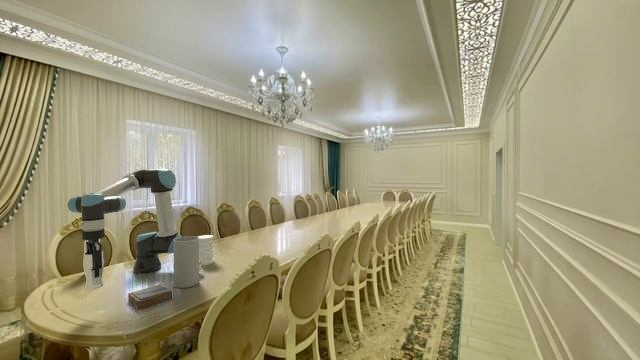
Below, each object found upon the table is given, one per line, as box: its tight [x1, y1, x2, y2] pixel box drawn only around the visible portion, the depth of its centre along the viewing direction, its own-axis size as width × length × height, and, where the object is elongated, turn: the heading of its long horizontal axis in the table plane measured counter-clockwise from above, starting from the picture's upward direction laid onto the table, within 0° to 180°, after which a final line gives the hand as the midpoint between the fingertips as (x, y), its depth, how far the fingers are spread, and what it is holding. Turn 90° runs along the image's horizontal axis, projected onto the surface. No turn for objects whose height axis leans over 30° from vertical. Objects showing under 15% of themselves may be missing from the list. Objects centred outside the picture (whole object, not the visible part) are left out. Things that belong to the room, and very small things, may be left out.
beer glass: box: [82, 250, 105, 291], centre depth 117 cm, size 7×7×15 cm
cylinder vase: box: [173, 235, 200, 289], centre depth 149 cm, size 12×12×25 cm
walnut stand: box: [127, 284, 173, 311], centre depth 129 cm, size 14×14×4 cm
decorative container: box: [197, 234, 215, 266], centre depth 186 cm, size 12×12×18 cm
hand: (94, 282), depth 117 cm, fingers closed on beer glass, 6 cm apart
